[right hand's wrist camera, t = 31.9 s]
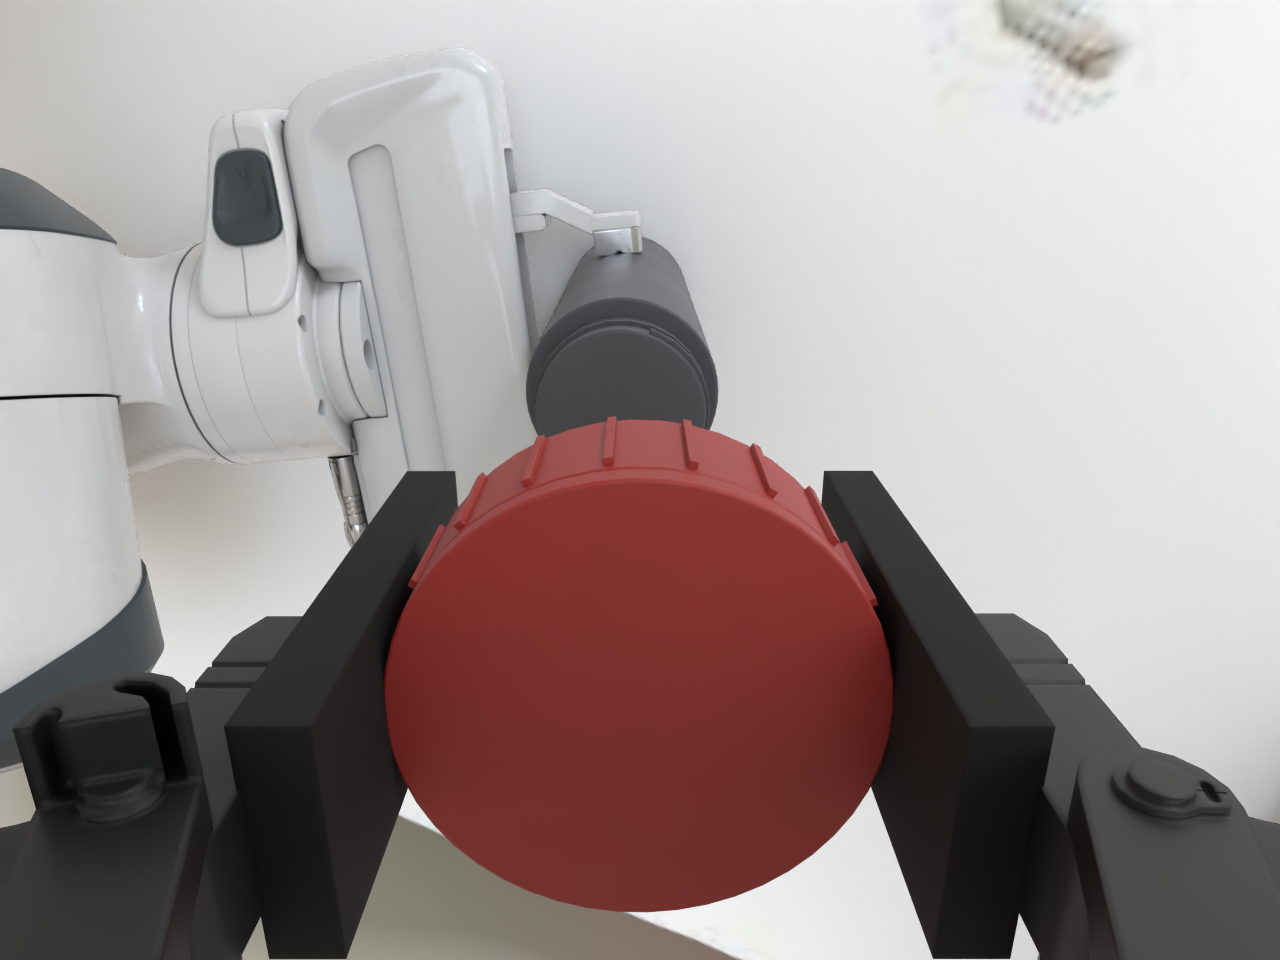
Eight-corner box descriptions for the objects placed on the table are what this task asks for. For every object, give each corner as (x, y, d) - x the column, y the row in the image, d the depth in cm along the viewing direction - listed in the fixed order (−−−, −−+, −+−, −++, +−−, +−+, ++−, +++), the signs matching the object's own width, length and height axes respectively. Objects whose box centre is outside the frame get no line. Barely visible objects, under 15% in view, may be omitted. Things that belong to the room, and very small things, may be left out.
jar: (652, 370, 42) (664, 542, 24) (551, 319, 42) (483, 456, 23) (706, 269, 41) (763, 370, 22) (602, 213, 40) (572, 271, 21)
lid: (496, 347, 11) (464, 393, 9) (931, 504, 12) (994, 582, 9) (373, 728, 13) (322, 839, 11) (752, 842, 13) (773, 967, 11)
